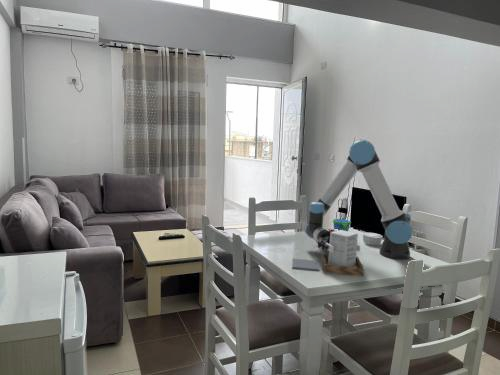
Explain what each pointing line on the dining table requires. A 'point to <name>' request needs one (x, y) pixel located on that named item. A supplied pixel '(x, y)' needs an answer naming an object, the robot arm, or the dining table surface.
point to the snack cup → (341, 224)
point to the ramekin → (372, 238)
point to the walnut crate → (342, 267)
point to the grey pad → (305, 264)
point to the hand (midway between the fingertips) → (346, 249)
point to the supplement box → (343, 248)
